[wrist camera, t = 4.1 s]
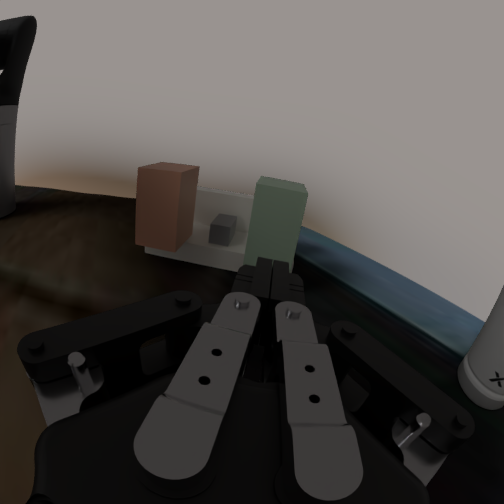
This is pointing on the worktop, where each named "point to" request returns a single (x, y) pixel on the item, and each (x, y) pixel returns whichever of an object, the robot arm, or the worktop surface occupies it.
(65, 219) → the worktop surface
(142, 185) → the terracotta rectangular block
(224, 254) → the console
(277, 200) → the green rectangular block
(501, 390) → the travel mug
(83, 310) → the worktop surface
